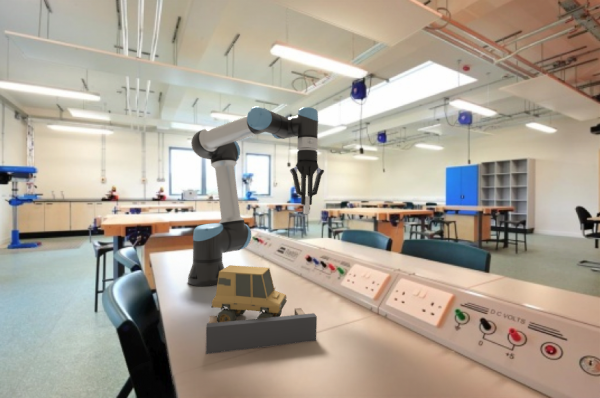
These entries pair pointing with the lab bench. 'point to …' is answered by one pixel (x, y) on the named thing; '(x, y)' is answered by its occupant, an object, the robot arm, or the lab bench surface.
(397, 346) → the lab bench surface
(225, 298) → the toy car
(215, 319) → the bay kerbs
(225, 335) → the wall
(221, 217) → the robot arm
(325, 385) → the lab bench surface
